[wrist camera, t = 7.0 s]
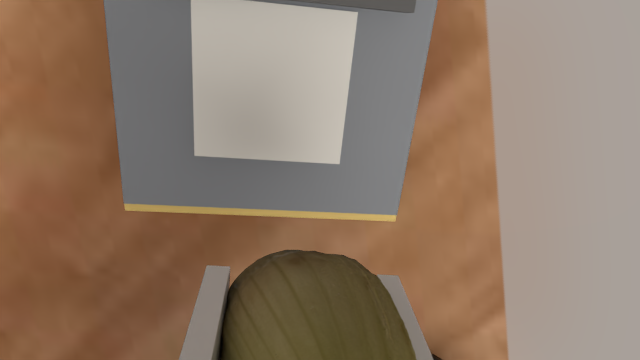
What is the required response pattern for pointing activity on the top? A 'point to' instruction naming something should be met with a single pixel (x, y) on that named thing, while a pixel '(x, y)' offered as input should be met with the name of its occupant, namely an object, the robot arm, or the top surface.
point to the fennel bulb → (312, 312)
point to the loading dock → (267, 104)
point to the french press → (435, 357)
